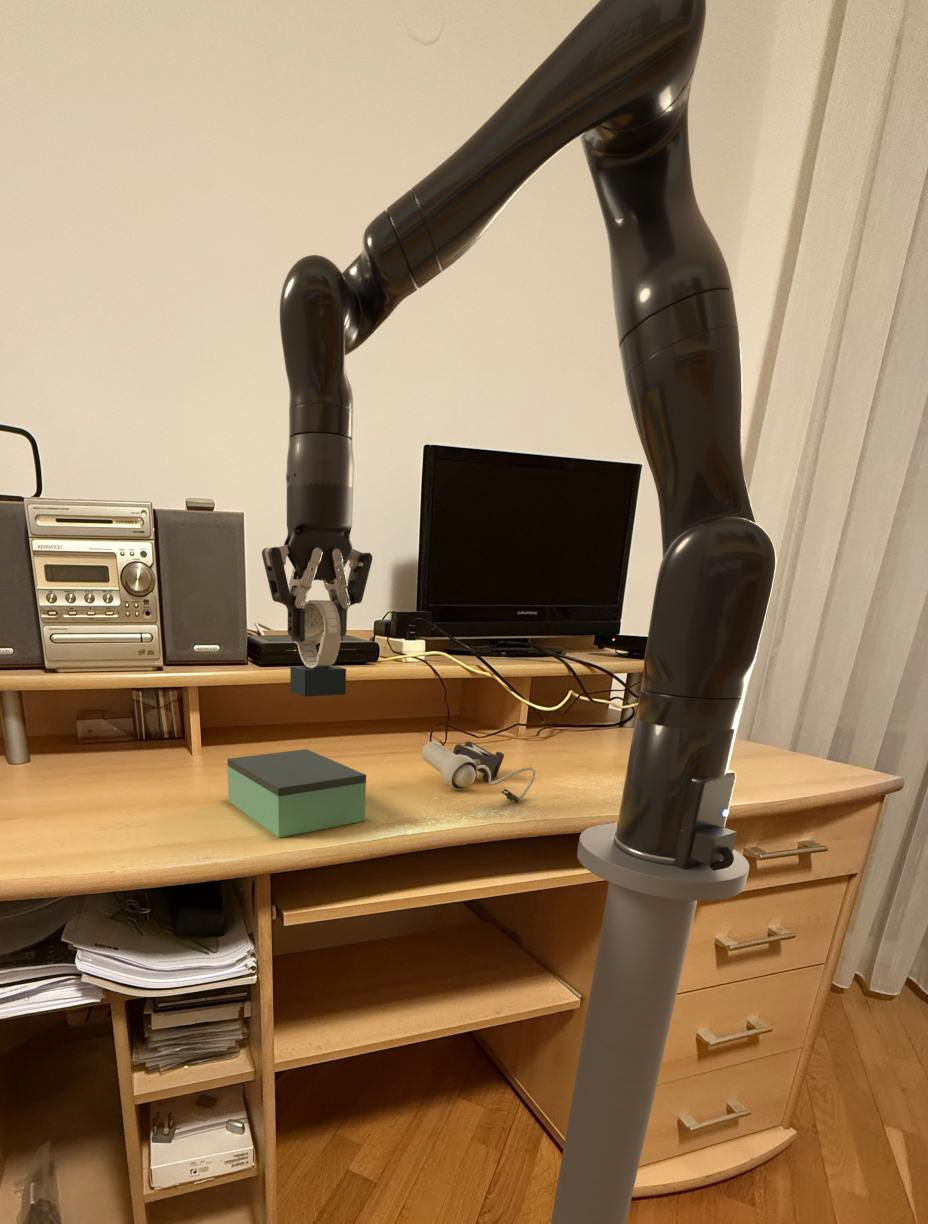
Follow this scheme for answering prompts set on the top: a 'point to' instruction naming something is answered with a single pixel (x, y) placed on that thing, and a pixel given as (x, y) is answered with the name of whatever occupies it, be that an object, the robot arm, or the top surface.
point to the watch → (319, 653)
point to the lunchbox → (296, 791)
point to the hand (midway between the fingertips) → (317, 640)
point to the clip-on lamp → (468, 765)
